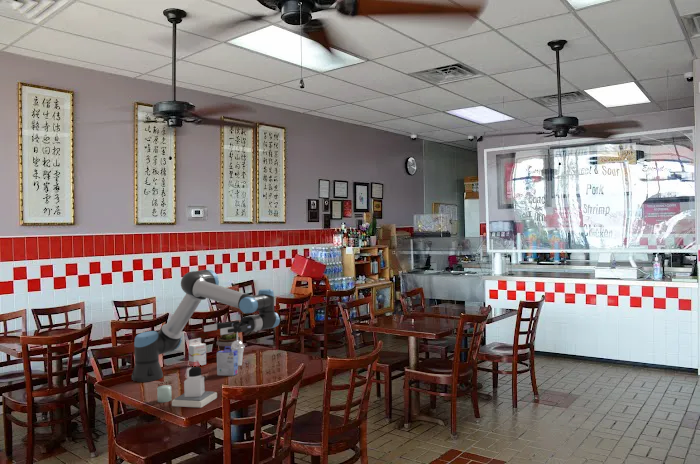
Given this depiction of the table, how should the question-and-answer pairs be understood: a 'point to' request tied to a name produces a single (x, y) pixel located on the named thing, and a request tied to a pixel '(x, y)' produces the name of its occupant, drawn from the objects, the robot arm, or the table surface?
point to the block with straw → (238, 349)
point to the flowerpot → (227, 341)
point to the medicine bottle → (194, 383)
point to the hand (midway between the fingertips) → (212, 330)
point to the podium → (195, 400)
